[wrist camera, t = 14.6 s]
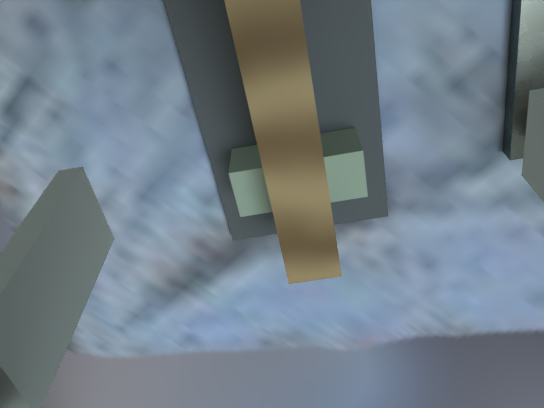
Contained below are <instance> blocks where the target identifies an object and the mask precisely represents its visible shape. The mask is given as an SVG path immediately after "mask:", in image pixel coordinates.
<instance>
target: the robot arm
mask: <svg viewBox="0 0 544 408" xmlns="http://www.w3.org/2000/svg"><path fill="white" fill-rule="evenodd" d="M522 176H523V177H524V179H525V180H526V181H527V182H528V184H529V185H530V186H531V187H532V188H533V190H534V191H535V192H536V193H537V194H538V196H539V197H540V198H541V199H542V201H543V202H544V88H541V89H535V90H530V91H529V102H528V113H527V124H526V134H525V145H524V156H523V167H522ZM113 240H114V237H113V234H112V232H111V230H110V228H109V225H108V223H107V221H106V219H105V216H104V214H103V212H102V210H101V207H100V205H99V203H98V200H97V198H96V196H95V194H94V191H93V189H92V187H91V185H90V182H89V180H88V178H87V176H86V173H85V171H84V169H83V167H78V168H72V169H66V170H60V171H58V173H57V174H56V175H55V177H54V178H53V180H52V181H51V182H50V184H49V185H48V187H47V188H46V189H45V191H44V192H43V194H42V195H41V196H40V198H39V199H38V201H37V202H36V203H35V205H34V206H33V208H32V209H31V210H30V212H29V213H28V215H27V216H26V217H25V219H24V220H23V222H22V223H21V224H20V226H19V227H18V229H17V230H16V231H15V233H14V234H13V236H12V237H11V239H10V240H9V241H8V243H7V244H6V246H5V247H4V249H3V250H2V251H1V253H0V408H41V407H42V405H43V403H44V401H45V398H46V396H47V393H48V391H49V389H50V386H51V384H52V382H53V380H54V377H55V375H56V373H57V370H58V368H59V366H60V363H61V361H62V359H63V356H64V354H65V352H66V349H67V347H68V345H69V342H70V340H71V338H72V335H73V333H74V331H75V328H76V326H77V324H78V321H79V319H80V317H81V314H82V312H83V310H84V308H85V305H86V303H87V301H88V298H89V296H90V294H91V291H92V289H93V287H94V284H95V282H96V280H97V277H98V275H99V273H100V270H101V268H102V266H103V263H104V261H105V259H106V256H107V254H108V252H109V249H110V247H111V245H112V242H113Z"/></svg>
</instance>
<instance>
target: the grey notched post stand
mask: <svg viewBox="0 0 544 408" xmlns="http://www.w3.org/2000/svg"><path fill="white" fill-rule="evenodd" d="M541 88H544V0H512V16H511V31H510V47H509V63H508V79H507V95H506V111H505V127H504V143H503V152H504V154H505V155H506V156H507V157H508V158H509V160H514V159H520V158H523V156H524V145H525V134H526V124H527V113H528V102H529V91H530V90H535V89H541Z"/></svg>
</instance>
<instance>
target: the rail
mask: <svg viewBox="0 0 544 408" xmlns="http://www.w3.org/2000/svg"><path fill="white" fill-rule="evenodd" d="M224 1H225V5H226V10H227V14H228V18H229V23H230V27H231V32H232V36H233V40H234V45H235V49H236V54H237V58H238V62H239V67H240V71H241V76H242V80H243V84H244V89H245V93H246V97H247V102H248V106H249V111H250V115H251V119H252V124H253V128H254V133H255V137H256V141H257V146H258V150H259V155H260V159H261V163H262V168H263V172H264V177H265V181H266V185H267V190H268V194H269V198H270V203H271V207H272V212H273V216H274V220H275V225H276V229H277V234H278V238H279V242H280V247H281V251H282V256H283V260H284V264H285V269H286V273H287V277H288V282H289V284H292V283H299V282H306V281H313V280H320V279H326V278H333V277H340V276H342V275H341V268H340V262H339V255H338V248H337V242H336V235H335V229H334V222H333V215H332V209H331V202H330V196H329V189H328V182H327V176H326V169H325V163H324V156H323V149H322V143H321V136H320V130H319V123H318V117H317V110H316V103H315V97H314V90H313V84H312V77H311V70H310V64H309V57H308V51H307V44H306V37H305V31H304V24H303V18H302V11H301V4H300V0H224Z"/></svg>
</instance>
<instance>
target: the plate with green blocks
mask: <svg viewBox="0 0 544 408" xmlns="http://www.w3.org/2000/svg"><path fill="white" fill-rule="evenodd" d="M164 3H165V7H166V10H167V14H168V17H169V21H170V24H171V28H172V31H173V34H174V38H175V41H176V45H177V48H178V52H179V55H180V59H181V62H182V66H183V69H184V73H185V76H186V79H187V83H188V86H189V90H190V93H191V97H192V100H193V104H194V107H195V111H196V114H197V118H198V121H199V124H200V128H201V131H202V135H203V138H204V142H205V145H206V149H207V152H208V156H209V159H210V162H211V166H212V169H213V173H214V176H215V180H216V183H217V187H218V190H219V194H220V197H221V201H222V204H223V207H224V211H225V214H226V218H227V221H228V225H229V228H230V232H231V235H232V239H233V240H238V239H245V238H251V237H258V236H264V235H270V234H277V229H276V225H275V220H274V216H273V212H272V207H271V203H270V198H269V194H268V190H267V185H266V181H265V177H264V172H263V168H262V163H261V159H260V155H259V150H258V146H257V141H256V137H255V133H254V128H253V124H252V119H251V115H250V111H249V106H248V102H247V97H246V93H245V89H244V84H243V80H242V76H241V71H240V67H239V62H238V58H237V54H236V49H235V45H234V40H233V36H232V32H231V27H230V23H229V18H228V14H227V10H226V5H225V1H224V0H164ZM300 4H301V11H302V18H303V24H304V31H305V37H306V44H307V51H308V57H309V64H310V70H311V77H312V84H313V90H314V97H315V103H316V110H317V117H318V123H319V130H320V136H321V143H322V149H323V156H324V163H325V169H326V176H327V182H328V189H329V196H330V202H331V209H332V215H333V222H334V224H341V223H347V222H354V221H360V220H366V219H373V218H379V217H386V216H388V208H387V196H386V183H385V171H384V158H383V146H382V133H381V121H380V108H379V96H378V83H377V71H376V58H375V46H374V33H373V21H372V8H371V0H300Z"/></svg>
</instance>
